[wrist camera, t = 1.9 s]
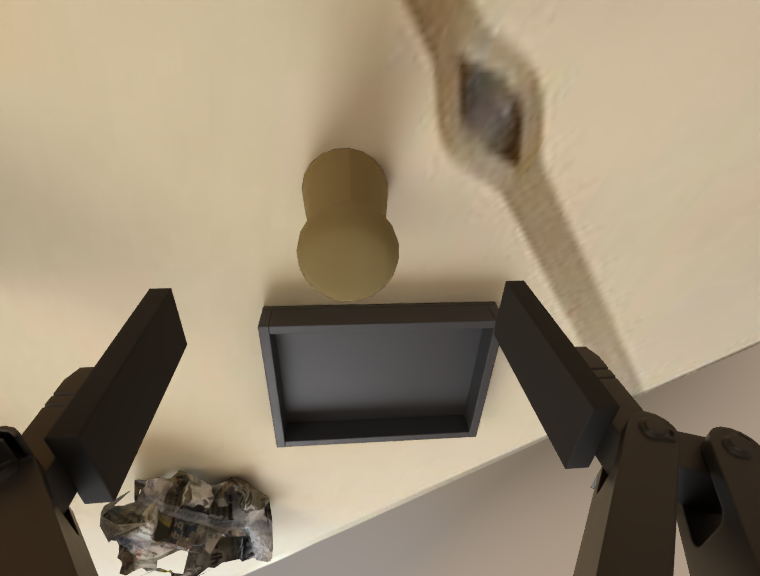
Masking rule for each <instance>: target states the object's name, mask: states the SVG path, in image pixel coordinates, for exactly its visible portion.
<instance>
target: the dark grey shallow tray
mask: <svg viewBox="0 0 760 576" xmlns="http://www.w3.org/2000/svg"><path fill="white" fill-rule="evenodd" d="M498 313H499V309H498V307H497V305H496V304H495V302H463V303H416V304H369V305H322V306H274V307H263V310H262V314H261V317H260V321H259V325H258V330H259V337H260V343H261V349H262V356H263V362H264V368H265V374H266V381H267V387H268V393H269V400H270V406H271V412H272V419H273V425H274V431H275V438H276V444H277V447H285V446H286V447H292V446H311V445H329V444H348V443H366V442H385V441H404V440H422V439H441V438H460V437H476V434H477V430H478V426H479V423H480V419H481V415H482V411H483V407H484V403H485V399H486V395H487V391H488V387H489V383H490V379H491V375H492V371H493V367H494V363H495V359H496V355H497V351H498V347H499V343H498V341H497V339H496V338H495V336H494V329H495V325H496V321H497V317H498Z"/></svg>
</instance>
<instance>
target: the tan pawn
mask: <svg viewBox="0 0 760 576" xmlns="http://www.w3.org/2000/svg"><path fill="white" fill-rule="evenodd" d="M302 193H303V200H304V206H305V212H306V217H307V222H306V223H305V225H304V227H303V228H302V230H301V232H300V236H299V241H298V246H297V257H298V263H299V267H300V270H301V272H302V273H303V275H304V277H305V279H306V281H307V282H308V283H309V284H310V285H311V286H312V287H313V288H314V289H315V290H316V291H317V292H319V293H321V294H323V295H326V296H328V297H330V298H332V299H336V300H341V301H356V300H361V299H364V298H367V297H369V296H372V295H373V294H375V293H376V292H378V291H379V290H380V289H382V288H383V287H385V285H386V284H387V283H388V282H389V280H390V279H391V278H392V276H393V275H394V272H395V269H396V266H397V263H398V259H399V243H398V240H397V237H396V235H395V232H394V230H393V227H392V225H391V224H390V222H389V221H388V220H387V219H386V209H387V181H386V178H385V176H384V173H383V170H382V169H381V168H380V166H379V165H378V164H377V163H376V161H375V160H374V159H372V158H371V157H369V156H368V155H366V154H365V153H363V152H361V151H357V150H354V149H350V148H343V149H333V150H331V151H328V152H326V153H323V154H321V155H320V156H319V157H318V158H317V159H315V160H314V161H313V162H312V163H311V164H310V166H309V168H308V169H307V171H306V173H305V175H304V179H303V185H302Z"/></svg>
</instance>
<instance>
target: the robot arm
mask: <svg viewBox="0 0 760 576" xmlns="http://www.w3.org/2000/svg"><path fill="white" fill-rule="evenodd" d="M494 336H495V338H496V339H497V341H498V343H499V345H500V347H501V349H502V351H503V353H504V354H505V356H506V358H507V360H508V362H509V364H510V366H511V368H512V369H513V371H514V373H515V375H516V377H517V379H518V381H519V383H520V385H521V386H522V388H523V390H524V392H525V394H526V396H527V398H528V400H529V401H530V403H531V405H532V407H533V409H534V411H535V413H536V415H537V417H538V418H539V420H540V422H541V424H542V426H543V428H544V430H545V432H546V433H547V435H548V437H549V439H550V441H551V442H552V445H553V446H554V448H555V450H556V452H557V454H558V456H559V458H560V460H561V461H562V464H563V465H564V467H565V469H572V468H585V467H589V466H590V464H591V462H592V460H593V458H594V456H595V455H596V457H597V459H598V460H599V462H600V463H601V465H602V467H601V469H600V471H599V473H598V475H597V477H596V479H595V480H594V483H593V484H592V486H591V488H593V489H594V493H593V498H592V502H591V506H590V510H589V514H588V518H587V522H586V526H585V530H584V534H583V538H582V542H581V546H580V550H579V554H578V558H577V562H576V567H575V570H574V574H573V576H673V572H674V554H675V537H676V520H677V523H678V527H679V531H680V536H681V540H682V544H683V548H684V552H685V556H686V560H687V564H688V568H689V573H690V576H760V445H758V443H756V442H755V441H754V440H753V439H751V438H750V437H748V436H746V435H744V434H743V433H741V432H739V431H736V430H734V429H731V428H726V427H716V428H713V429H712V430H711V431H710V433H709V434H708V435H707V436H706V437H702V436H697V435H692V434H688V433H683V432H678V431H677V430H676V429H675V428H674V427H673V426H672V425H671V424H670V423H669V422H668V421H666V420H665V419H663V418H661V417H659V416H658V415H656V414H652V413H649V412H644V411H643V410H642V408H641V407H640V406H639V405H638V404H637V402H636V401H635V400H634V399H633V397H632V396H631V395H630V394H629V393H628V391H627V390H626V389H625V388H624V386H623V385H622V384H621V383H620V382H619V380H618V379H616V378H615V375H614V374H613V373H612V372H611V371H610V370H608V367H607V366H606V364H605V363H604V362H603V361H602V360H601V358H600V357H599V356H598V355H596V354H595V353H594V352H592V351H591V350H589V349H588V348H587V347H574V346H573V344H572V343H571V342H570V340H569V339H568V338H567V336H566V335H565V334H564V332H563V331H562V330H561V329H560V327H559V326H558V325H557V323H556V322H555V321H554V319H553V318H552V317H551V315H550V314H549V313H548V312H547V310H546V309H545V308H544V306H543V305H542V304H541V302H540V301H539V300H538V298H537V297H536V296H535V295H534V293H533V292H532V291H531V289H530V288H529V287H528V285H527V284H526V283H525V282H524V281H506V283H505V287H504V292H503V296H502V300H501V304H500V308H499V313H498V317H497V321H496V325H495V329H494ZM186 346H187V342H186V339H185V335H184V332H183V328H182V325H181V321H180V318H179V314H178V310H177V307H176V303H175V300H174V296H173V293H172V289H171V288H161V289H149V291H148V292H147V293H146V295H145V296H144V298H143V299H142V300H141V302H140V303H139V305H138V306H137V308H136V309H135V310H134V312H133V313H132V315H131V316H130V317H129V319H128V320H127V322H126V323H125V324H124V326H123V327H122V329H121V330H120V332H119V333H118V334H117V336H116V337H115V339H114V340H113V341H112V343H111V344H110V346H109V347H108V348H107V350H106V351H105V353H104V354H103V356H102V357H101V358H100V360H99V361H98V363H97V364H96V365H95V367H85V368H79V369H78V370H77V371H75V372H74V373H73V374H71V375H70V376H69V377H67V378H66V379H65V380H64V381H63V382H62V383H61V385H60V386H59V387H58V388H57V390H56V391H55V392H54V396H51V398H50V399H49V400H48V401H47V403H46V404H45V408H42V409H41V411H40V412H39V413H38V415H37V416H36V417H35V418H34V420H33V421H32V422H31V424H30V425H29V426H28V428H27V429H26V430H25V431H24V433H23V434H22V435H21V434H20V433H19V432H18V431H17V430H16V428H14V427H9V426H1V427H0V576H98V574H97V571H96V569H95V566H94V564H93V561H92V559H91V556H90V554H89V551H88V549H87V546H86V543H85V541H84V538H83V536H82V533H81V531H80V528H79V526H78V523H77V521H76V518H75V516H74V513H73V511H72V510H71V508H70V507H69V505H70V504H71V502H72V500H73V498H74V496H75V495H76V493H77V492H78V494H79V496H80V497H81V499H82V500H83V502H84V503H85V504H89V503H103V502H115V499H116V497H117V495H118V493H119V491H120V489H121V486H122V484H123V482H124V480H125V478H126V476H127V474H128V471H129V469H130V467H131V465H132V463H133V461H134V458H135V456H136V454H137V452H138V450H139V448H140V445H141V443H142V441H143V439H144V437H145V435H146V432H147V430H148V428H149V426H150V424H151V422H152V419H153V417H154V415H155V413H156V411H157V409H158V407H159V404H160V402H161V400H162V398H163V396H164V394H165V391H166V389H167V387H168V385H169V383H170V381H171V378H172V376H173V374H174V372H175V370H176V368H177V365H178V363H179V361H180V359H181V357H182V355H183V353H184V350H185V348H186Z"/></svg>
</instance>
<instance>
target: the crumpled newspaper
mask: <svg viewBox="0 0 760 576" xmlns="http://www.w3.org/2000/svg"><path fill="white" fill-rule="evenodd" d="M144 479H145V478H144ZM140 489H141V493H140V494H139V491H140ZM129 492H130V491H129ZM129 492H127V493H129ZM127 493H125V494H124V495H122V496H120V497H119V498H117V499H115V502H110V503H109V504H107V505H105V506H104V508H103V510H102V512H101V518H100V527H101V529H102V531H103V533H104V534H105V536H106V538H107V540H108V542H110V541H111V540H114V541H117V542H118V544H119V555H118V557H117V558H118V559H120V560H121V561H122V567H121V570H120V574H123V575H128V574H130V573H131V572H132V571H135V570H137V569H139V568H143V569H145V570H146V571H151V572H152V571H160V572H170V573H171V576H198V575H199V574H200V573H201V572H203V571H204V570H205V569H207V568H208V567H211V568H215V567H216V566H218V565H219V564H221V563H223V562H227V561H232V560H237V559H240V560H241V561H245V560H247V559H250V558H256V560H260V561H266V562H268V561H271V558H272V550H273V537H272V515H271V509H270V503H269V499H268V497H267V496H265V495H263V494H261V493H260V492H258V491H257V490H256V489H254V488H253V487H251V486H250V485H249V484H248V483H247V482H245V481H242V480H239V479H236V478H232V477H231V478H230V479H229V480H228V481H225V482H222V483H219V484H216V485H214V486H211V485H209V484H208V483H206V482H204V481H203V480H201V479H199V478H197V477H195V476H192V475H190V474H187V473H184V472H182V471H178V472H177V473H176V474H175V475H174V476H173V477H172V478H171V479H166V478H154V479H148V480H147V481H139V480H135V502H134V503H130V504H127V505H125V506H114V505H115V504H116V503H117V502H118V501H120V500H121V499H122V498H123V497H124V496H125V495H126V494H127ZM138 495H139V496H138ZM188 549H189V551H188ZM179 550H184V551H188V557H187V561H186V565H185V569H184V574H177V573H173V572H172V571H171V570H169V571H166V570H164V569H161V568H157V560H159V559H161V558H163V557H166V556H168V555H170V554H172V553H174V552H177V551H179ZM148 573H149V572H148ZM205 573H206V572H205ZM146 574H147V573H146ZM203 574H204V573H203ZM201 575H202V574H201ZM141 576H142V575H141ZM199 576H200V575H199Z"/></svg>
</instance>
